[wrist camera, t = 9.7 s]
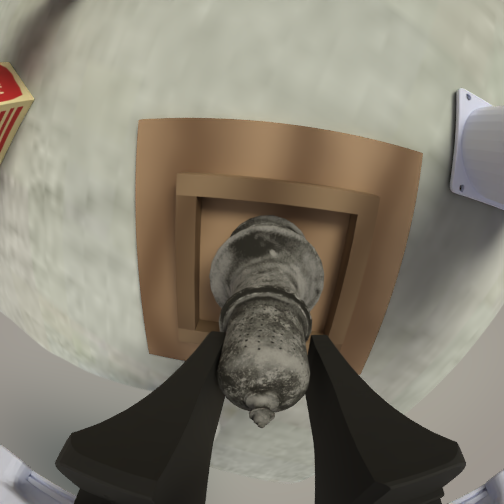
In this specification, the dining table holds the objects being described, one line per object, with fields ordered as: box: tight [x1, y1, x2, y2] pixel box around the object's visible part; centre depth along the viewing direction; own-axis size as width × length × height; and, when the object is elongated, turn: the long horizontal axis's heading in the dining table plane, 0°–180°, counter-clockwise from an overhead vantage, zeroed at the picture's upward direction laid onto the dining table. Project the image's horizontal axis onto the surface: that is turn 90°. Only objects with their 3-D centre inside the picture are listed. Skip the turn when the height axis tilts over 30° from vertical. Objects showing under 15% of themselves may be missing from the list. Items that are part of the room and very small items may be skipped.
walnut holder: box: [136, 118, 423, 375], centre depth 17 cm, size 18×18×2 cm
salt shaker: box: [209, 215, 324, 428], centre depth 12 cm, size 6×6×12 cm
